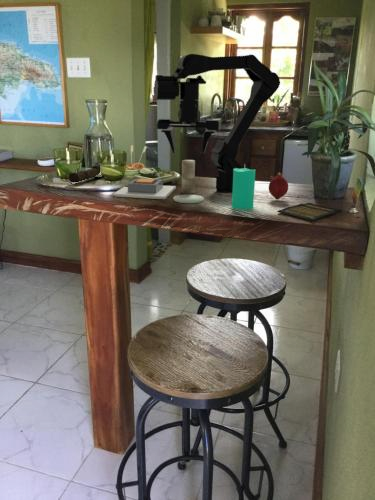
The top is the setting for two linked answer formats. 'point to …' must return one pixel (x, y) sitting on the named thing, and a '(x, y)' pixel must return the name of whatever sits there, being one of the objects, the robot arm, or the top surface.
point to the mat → (188, 198)
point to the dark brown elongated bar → (84, 174)
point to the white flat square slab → (145, 190)
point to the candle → (243, 188)
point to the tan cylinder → (188, 176)
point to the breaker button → (146, 181)
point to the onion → (278, 186)
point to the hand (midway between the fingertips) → (188, 153)
